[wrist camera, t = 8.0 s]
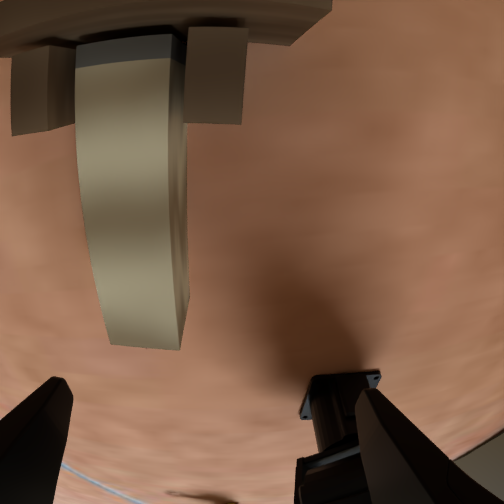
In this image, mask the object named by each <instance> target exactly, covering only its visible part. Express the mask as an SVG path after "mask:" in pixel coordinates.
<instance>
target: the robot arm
mask: <svg viewBox="0 0 504 504" xmlns="http://www.w3.org/2000/svg"><path fill="white" fill-rule="evenodd" d="M380 379H381V374H380V372H379V371H372V372H361V373H347V374H331V375H316V376H313V377H312V378H311V381H310V384H309V387H308V391H307V394H306V397H305V400H304V403H303V406H302V409H301V412H300V419H301V420H311V419H312V421H313V426H314V431H315V436H316V441H317V447H318V452H319V453H317V454H314V455H311V456H308V457H305V458H304V457H302V458H299V459H297V466H296V474H295V492H294V504H504V501H502V500H501V499H499V498H498V497H496V496H495V495H494V494H492V493H491V492H489V491H488V490H487V489H485V488H484V487H482V486H481V485H480V484H478V483H477V482H476V481H475V480H473V479H472V478H471V477H469V476H468V475H467V474H466V473H465V472H464V471H462V470H461V469H460V468H459V467H458V466H457V465H456V464H455V463H454V462H453V461H452V460H451V459H450V460H449V458H448V457H447V456H446V455H445V454H444V453H443V452H442V451H441V450H440V449H439V448H438V447H437V446H436V445H435V444H434V443H433V442H432V441H431V440H430V439H429V438H428V437H427V436H425V435H424V434H423V433H422V432H421V431H420V430H419V429H418V428H417V427H416V426H415V425H414V424H413V423H412V422H411V421H410V420H409V419H408V418H407V417H406V416H405V415H404V414H403V413H402V412H401V411H400V410H399V409H397V408H396V407H395V406H394V405H393V404H392V403H391V402H390V401H389V400H388V399H387V398H386V397H385V396H384V395H383V394H382V393H381V392H380V391H379V390H378V389H376V387H377V385H378V383H379V381H380ZM72 406H73V394H72V392H71V390H70V388H69V386H68V384H67V382H66V380H65V379H64V378H60V377H55V376H53V377H51V378H50V379H48V380H47V381H46V382H45V383H44V384H42V385H41V386H40V387H39V388H38V389H36V390H35V391H34V392H33V393H32V394H30V395H29V396H28V397H27V398H26V399H25V400H23V401H22V402H21V403H20V404H19V405H17V406H16V407H15V408H14V409H13V410H12V411H10V412H9V413H8V414H7V415H6V416H5V417H3V418H2V419H1V420H0V504H53V500H54V495H55V490H56V485H57V480H58V476H59V471H60V467H61V463H62V458H63V454H64V450H65V446H66V442H67V437H68V430H69V424H70V417H71V411H72Z"/></svg>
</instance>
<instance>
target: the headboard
mask: <svg viewBox="0 0 504 504" xmlns="http://www.w3.org/2000/svg"><path fill="white" fill-rule="evenodd" d="M330 11H332V0H3V1H1V2H0V58H12V65H11V130H12V136H17V135H23V134H30V133H37V132H44V131H49V130H53V129H56V128H59V127H63V126H66V125H70V124H74V123H75V66H76V48H77V46H78V45H84V44H89V43H95V42H100V41H107V40H113V39H121V38H129V37H138V36H148V35H161V34H173V35H174V36H175V37H176V38H177V39H179V40H180V41H188V42H187V55H186V70H185V87H184V109H183V123H212V124H237V125H241V122H242V108H243V94H244V80H245V67H246V55H247V42H252V43H265V44H275V45H284V46H290V45H291V44H292V43H294V42H295V41H296V40H297V39H298V38H299V37H300V36H302V35H303V34H304V33H305V32H306V31H307V30H309V29H310V28H311V27H312V26H313V25H314V24H316V23H317V22H318V21H319V20H321V19H322V18H323V17H324V16H325V15H327V14H328V13H329V12H330Z"/></svg>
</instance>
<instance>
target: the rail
mask: <svg viewBox="0 0 504 504" xmlns="http://www.w3.org/2000/svg"><path fill="white" fill-rule="evenodd" d="M186 55H187V47H186V46H185V45H184V44H183V43H182V42H181V41H180V40H179V39H177V38H176V37H175V36H174V35H173V34H161V35H148V36H138V37H129V38H121V39H113V40H107V41H100V42H95V43H89V44H84V45H78V46H77V48H76V66H75V130H76V150H77V164H78V175H79V185H80V194H81V203H82V210H83V218H84V225H85V231H86V237H87V243H88V249H89V254H90V260H91V265H92V270H93V275H94V280H95V284H96V289H97V293H98V298H99V302H100V306H101V310H102V314H103V318H104V322H105V326H106V329H107V333H108V337H109V340H110V344H112V345H121V346H131V347H141V348H153V349H165V350H180V347H181V341H182V336H183V330H184V325H185V319H186V314H187V309H188V304H189V299H190V289H189V267H188V238H187V123H183V109H184V87H185V70H186Z"/></svg>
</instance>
